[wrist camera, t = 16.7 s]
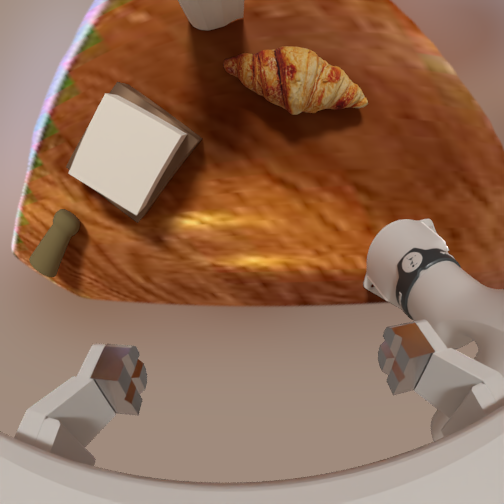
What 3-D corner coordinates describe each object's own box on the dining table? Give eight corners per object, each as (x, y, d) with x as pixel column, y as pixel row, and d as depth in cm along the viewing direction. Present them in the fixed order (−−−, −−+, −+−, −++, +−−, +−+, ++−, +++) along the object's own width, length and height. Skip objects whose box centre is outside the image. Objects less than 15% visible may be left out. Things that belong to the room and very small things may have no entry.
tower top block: (187, 134, 35) (181, 135, 32) (145, 206, 39) (136, 215, 36) (117, 95, 32) (105, 93, 28) (81, 167, 36) (68, 173, 32)
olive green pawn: (57, 281, 41) (87, 228, 41) (28, 266, 36) (58, 210, 37) (55, 266, 45) (82, 217, 46) (29, 252, 40) (57, 200, 41)
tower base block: (202, 138, 40) (198, 140, 36) (147, 212, 45) (137, 223, 40) (129, 85, 36) (117, 81, 31) (81, 161, 40) (66, 167, 36)
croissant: (355, 90, 39) (378, 62, 32) (358, 139, 38) (387, 114, 30) (226, 58, 36) (232, 22, 29) (214, 107, 35) (218, 70, 27)
